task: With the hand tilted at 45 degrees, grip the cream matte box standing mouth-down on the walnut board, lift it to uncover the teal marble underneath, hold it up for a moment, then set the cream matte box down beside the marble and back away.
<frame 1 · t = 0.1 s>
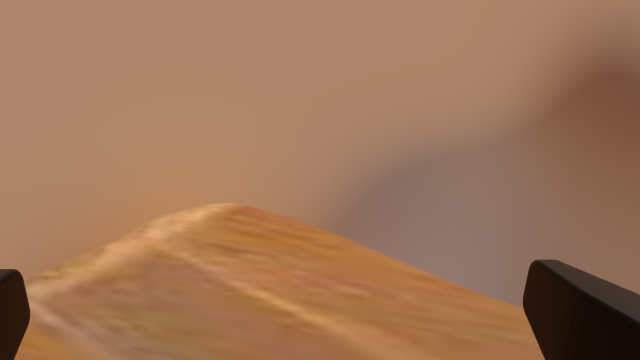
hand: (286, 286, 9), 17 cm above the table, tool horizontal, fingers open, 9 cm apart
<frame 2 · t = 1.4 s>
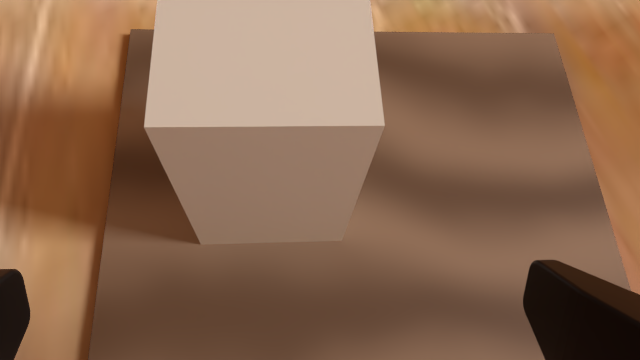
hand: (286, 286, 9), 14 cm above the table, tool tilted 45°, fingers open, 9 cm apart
cream matte box: (271, 178, 24), resting on board
board: (362, 181, 25), on the table
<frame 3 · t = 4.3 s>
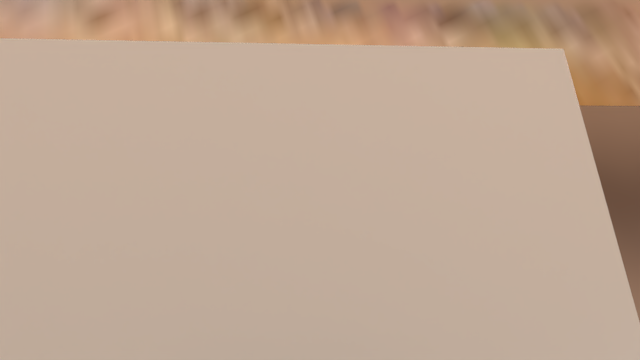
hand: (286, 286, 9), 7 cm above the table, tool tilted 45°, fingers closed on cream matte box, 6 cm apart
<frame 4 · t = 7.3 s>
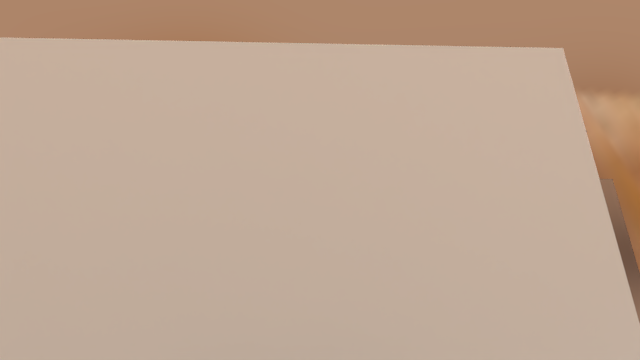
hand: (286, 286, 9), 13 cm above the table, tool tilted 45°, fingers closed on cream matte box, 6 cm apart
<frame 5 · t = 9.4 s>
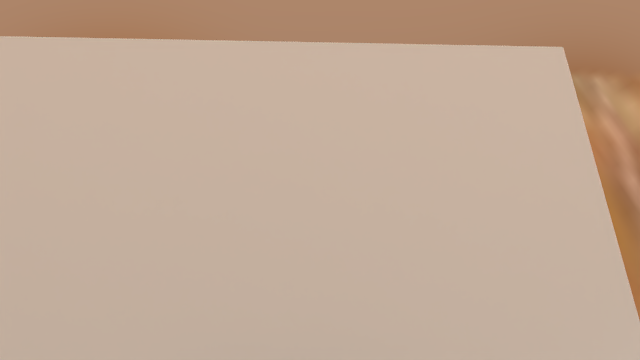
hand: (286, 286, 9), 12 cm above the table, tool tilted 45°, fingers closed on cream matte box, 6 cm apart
when the fingers open (8 cm above the table, at t = 10.7 s): cream matte box drops 1 cm, resting on board.
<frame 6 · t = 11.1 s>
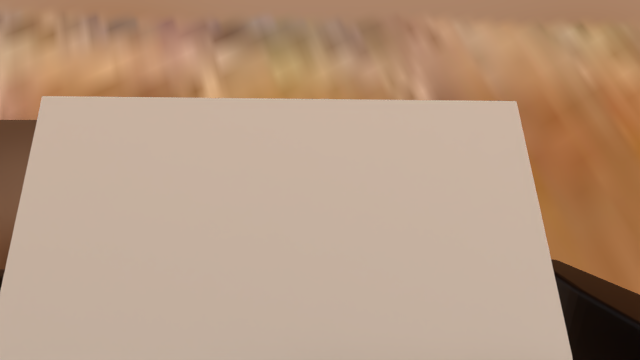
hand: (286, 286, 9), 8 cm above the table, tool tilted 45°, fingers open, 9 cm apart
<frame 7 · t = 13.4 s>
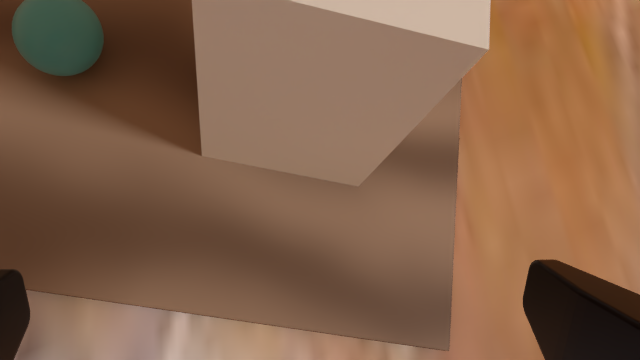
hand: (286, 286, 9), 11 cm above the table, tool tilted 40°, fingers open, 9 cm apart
cream matte box: (293, 101, 21), resting on board
marble: (59, 34, 19), point 2 cm above the table, touching board
board: (186, 85, 21), on the table
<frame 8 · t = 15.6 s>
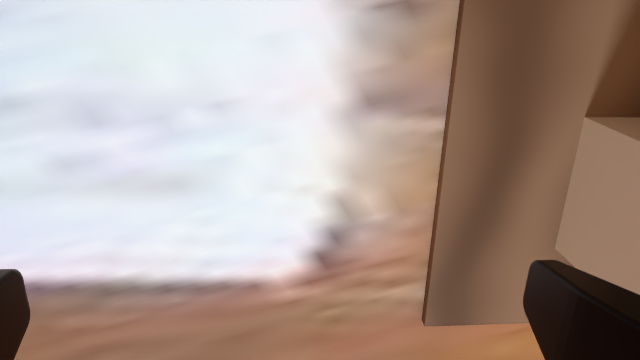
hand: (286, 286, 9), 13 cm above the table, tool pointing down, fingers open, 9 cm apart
cream matte box: (635, 185, 23), resting on board
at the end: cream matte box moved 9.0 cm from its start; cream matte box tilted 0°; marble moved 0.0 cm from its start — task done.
